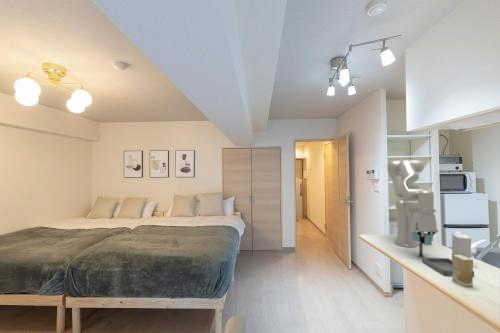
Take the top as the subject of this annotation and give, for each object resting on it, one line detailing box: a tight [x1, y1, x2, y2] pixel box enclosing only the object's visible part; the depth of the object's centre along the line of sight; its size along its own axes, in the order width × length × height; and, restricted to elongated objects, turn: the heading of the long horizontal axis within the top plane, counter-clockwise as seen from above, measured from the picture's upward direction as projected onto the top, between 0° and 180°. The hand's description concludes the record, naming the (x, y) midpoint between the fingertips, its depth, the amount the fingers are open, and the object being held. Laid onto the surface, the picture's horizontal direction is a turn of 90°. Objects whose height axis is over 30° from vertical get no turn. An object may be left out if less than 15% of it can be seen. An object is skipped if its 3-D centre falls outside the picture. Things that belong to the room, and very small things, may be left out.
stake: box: [417, 242, 425, 258], centre depth 148 cm, size 3×3×8 cm
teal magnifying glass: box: [411, 232, 432, 246], centre depth 147 cm, size 12×8×6 cm, turn 175°
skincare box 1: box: [451, 232, 472, 261], centre depth 137 cm, size 8×7×16 cm
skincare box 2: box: [451, 255, 474, 287], centre depth 113 cm, size 6×4×12 cm
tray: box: [421, 257, 475, 278], centre depth 129 cm, size 18×14×2 cm
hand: (425, 242), depth 143 cm, fingers closed on teal magnifying glass, 3 cm apart
